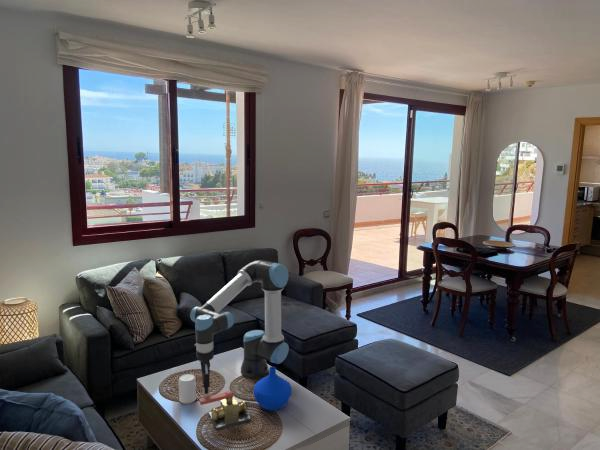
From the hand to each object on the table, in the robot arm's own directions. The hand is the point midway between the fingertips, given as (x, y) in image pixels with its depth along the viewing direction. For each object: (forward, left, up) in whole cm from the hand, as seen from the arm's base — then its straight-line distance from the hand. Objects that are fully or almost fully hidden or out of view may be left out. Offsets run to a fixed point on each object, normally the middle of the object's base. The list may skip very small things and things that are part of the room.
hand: (206, 398), depth 203 cm
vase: (-32, +3, -10) cm, 33 cm away
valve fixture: (-10, +4, -10) cm, 14 cm away
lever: (-4, +4, 0) cm, 5 cm away
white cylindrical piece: (+4, -19, -10) cm, 22 cm away
